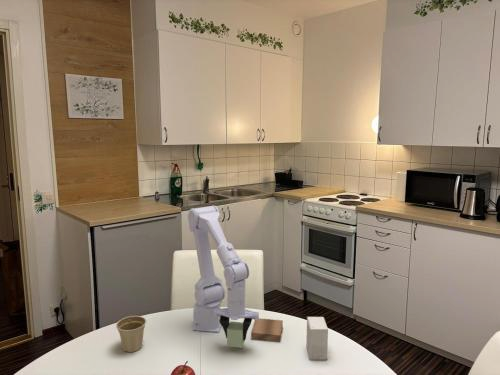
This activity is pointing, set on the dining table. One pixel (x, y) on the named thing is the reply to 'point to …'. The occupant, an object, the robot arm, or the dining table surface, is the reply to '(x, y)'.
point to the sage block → (235, 334)
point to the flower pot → (131, 332)
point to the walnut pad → (267, 330)
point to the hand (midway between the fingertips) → (236, 337)
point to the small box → (317, 338)
